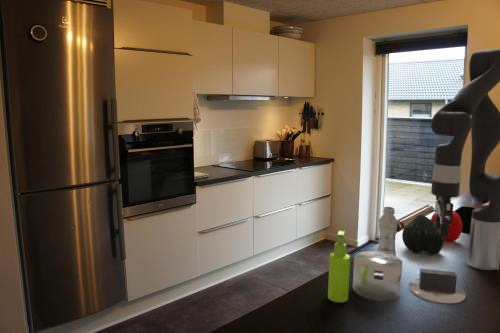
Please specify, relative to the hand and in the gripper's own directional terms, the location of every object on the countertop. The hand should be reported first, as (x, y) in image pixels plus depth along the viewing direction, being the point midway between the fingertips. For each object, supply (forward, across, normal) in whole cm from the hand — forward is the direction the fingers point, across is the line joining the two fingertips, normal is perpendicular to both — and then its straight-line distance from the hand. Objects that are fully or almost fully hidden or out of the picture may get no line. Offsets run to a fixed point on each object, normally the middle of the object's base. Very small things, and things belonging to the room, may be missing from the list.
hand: (441, 232), depth 125 cm
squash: (+19, +36, 0) cm, 41 cm away
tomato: (+19, +53, -11) cm, 57 cm away
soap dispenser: (+19, -13, +29) cm, 37 cm away
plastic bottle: (+19, +21, +14) cm, 31 cm away
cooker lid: (+19, 0, 0) cm, 19 cm away
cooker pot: (+19, -5, +18) cm, 26 cm away
